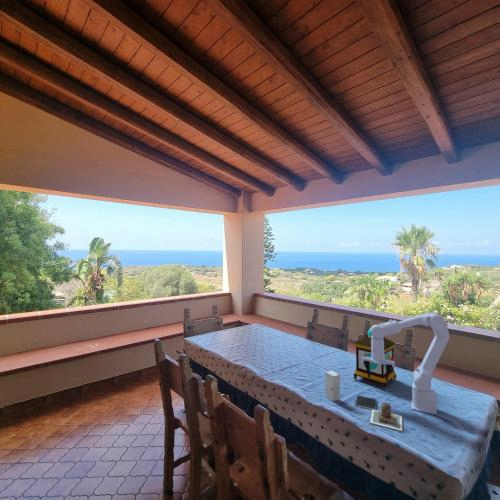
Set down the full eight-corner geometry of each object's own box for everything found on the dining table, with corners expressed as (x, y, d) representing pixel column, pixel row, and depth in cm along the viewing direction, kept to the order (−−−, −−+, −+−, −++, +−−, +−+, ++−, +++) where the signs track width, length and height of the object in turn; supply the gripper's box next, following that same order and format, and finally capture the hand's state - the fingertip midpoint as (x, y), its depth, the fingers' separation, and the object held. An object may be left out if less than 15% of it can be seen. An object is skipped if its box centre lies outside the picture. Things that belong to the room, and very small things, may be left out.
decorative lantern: (400, 380, 158) (399, 327, 160) (387, 391, 145) (386, 333, 146) (365, 370, 173) (364, 321, 174) (350, 379, 159) (349, 326, 160)
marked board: (402, 417, 121) (402, 415, 121) (402, 432, 110) (402, 430, 110) (372, 410, 126) (372, 409, 126) (369, 423, 116) (369, 422, 116)
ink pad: (376, 401, 134) (376, 399, 134) (375, 410, 126) (375, 407, 126) (357, 397, 138) (357, 394, 138) (354, 405, 130) (354, 402, 130)
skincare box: (324, 396, 139) (324, 371, 140) (332, 394, 141) (331, 370, 142) (333, 401, 134) (333, 376, 134) (340, 400, 136) (340, 374, 136)
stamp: (393, 417, 120) (393, 402, 120) (394, 424, 115) (394, 409, 115) (378, 414, 122) (378, 400, 123) (378, 421, 117) (378, 406, 117)
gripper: (360, 350, 136) (361, 378, 135) (394, 355, 129) (394, 385, 129) (362, 346, 142) (362, 373, 142) (394, 350, 136) (394, 379, 135)
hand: (378, 378), depth 136 cm, fingers open, 7 cm apart
